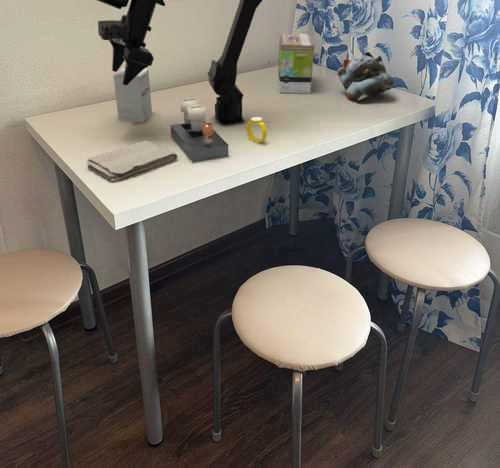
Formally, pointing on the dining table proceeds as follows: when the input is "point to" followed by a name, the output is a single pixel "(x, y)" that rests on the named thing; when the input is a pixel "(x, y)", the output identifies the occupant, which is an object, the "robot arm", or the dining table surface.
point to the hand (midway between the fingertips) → (119, 77)
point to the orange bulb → (207, 133)
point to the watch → (263, 127)
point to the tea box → (295, 63)
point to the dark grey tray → (198, 143)
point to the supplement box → (133, 97)
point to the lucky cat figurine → (364, 77)
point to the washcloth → (130, 161)
